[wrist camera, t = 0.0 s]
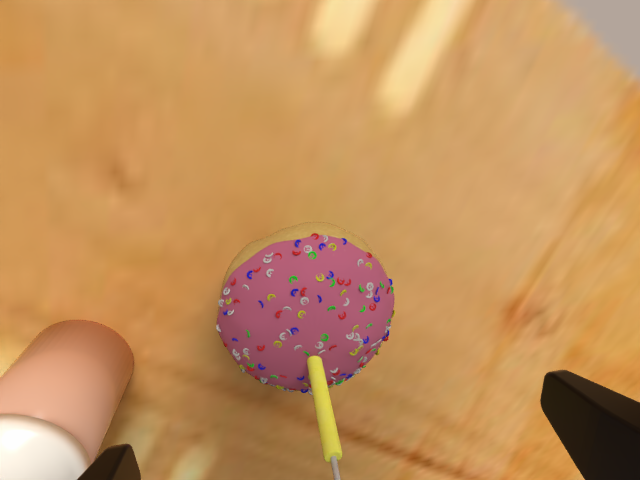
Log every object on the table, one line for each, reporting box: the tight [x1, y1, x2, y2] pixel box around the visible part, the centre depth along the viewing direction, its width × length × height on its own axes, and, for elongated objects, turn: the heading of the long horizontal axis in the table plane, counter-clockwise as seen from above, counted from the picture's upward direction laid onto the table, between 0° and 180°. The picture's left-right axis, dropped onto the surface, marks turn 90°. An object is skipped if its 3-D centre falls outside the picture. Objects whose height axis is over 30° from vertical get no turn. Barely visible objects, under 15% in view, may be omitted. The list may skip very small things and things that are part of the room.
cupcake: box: [216, 222, 395, 480], centre depth 18 cm, size 9×8×12 cm
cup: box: [0, 320, 134, 480], centre depth 19 cm, size 6×6×8 cm
